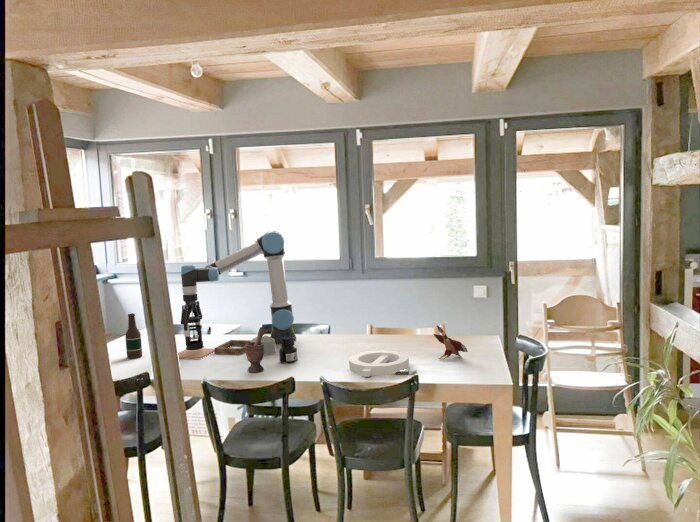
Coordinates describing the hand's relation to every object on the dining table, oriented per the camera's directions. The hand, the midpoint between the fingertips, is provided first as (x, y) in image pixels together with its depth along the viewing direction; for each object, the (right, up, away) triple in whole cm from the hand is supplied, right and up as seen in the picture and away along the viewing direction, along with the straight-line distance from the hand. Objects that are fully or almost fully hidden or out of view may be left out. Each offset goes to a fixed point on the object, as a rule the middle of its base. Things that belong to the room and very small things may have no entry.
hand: (192, 333), depth 307 cm
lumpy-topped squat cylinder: (+39, -10, -2) cm, 40 cm away
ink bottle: (+54, -11, -22) cm, 60 cm away
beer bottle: (-32, -13, +1) cm, 34 cm away
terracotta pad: (+1, -11, +1) cm, 11 cm away
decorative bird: (+134, -8, -31) cm, 138 cm away
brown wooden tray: (+22, -10, +8) cm, 25 cm away
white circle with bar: (+99, -11, -39) cm, 107 cm away
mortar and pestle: (+41, -13, -35) cm, 55 cm away
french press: (0, -8, +1) cm, 8 cm away
